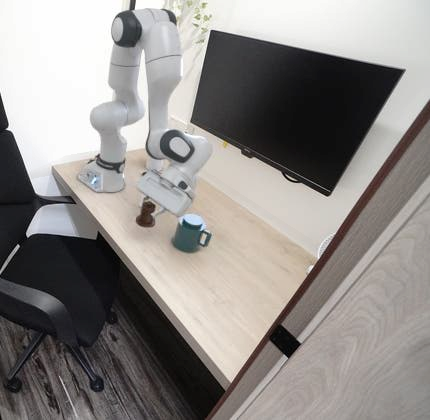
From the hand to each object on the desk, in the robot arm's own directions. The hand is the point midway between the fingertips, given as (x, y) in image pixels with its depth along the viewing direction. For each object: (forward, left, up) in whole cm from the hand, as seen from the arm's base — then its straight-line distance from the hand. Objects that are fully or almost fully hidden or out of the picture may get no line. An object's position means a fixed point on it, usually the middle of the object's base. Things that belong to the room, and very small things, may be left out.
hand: (146, 212), depth 110 cm
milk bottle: (-3, +39, -14) cm, 41 cm away
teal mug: (+13, +12, -14) cm, 23 cm away
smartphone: (-19, +45, -14) cm, 50 cm away
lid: (0, +1, -4) cm, 4 cm away
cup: (-27, +55, -14) cm, 63 cm away
